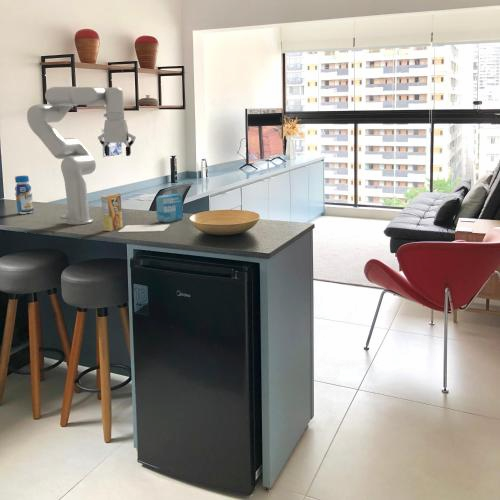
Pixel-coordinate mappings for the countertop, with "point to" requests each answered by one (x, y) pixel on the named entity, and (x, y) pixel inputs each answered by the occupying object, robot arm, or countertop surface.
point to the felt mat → (144, 228)
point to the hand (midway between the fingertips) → (117, 155)
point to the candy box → (111, 212)
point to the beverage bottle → (23, 194)
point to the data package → (169, 208)
